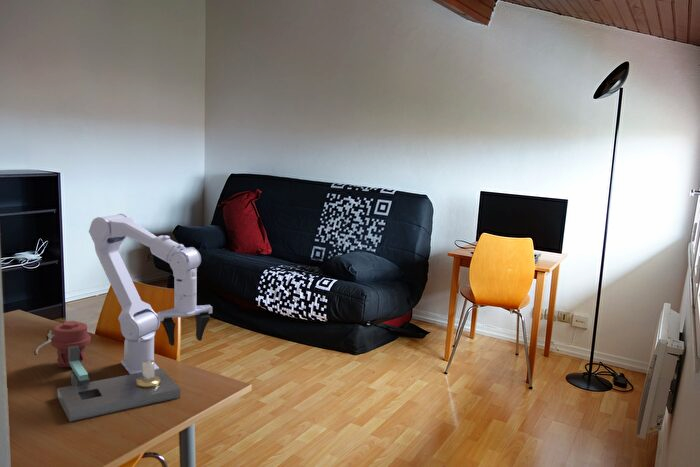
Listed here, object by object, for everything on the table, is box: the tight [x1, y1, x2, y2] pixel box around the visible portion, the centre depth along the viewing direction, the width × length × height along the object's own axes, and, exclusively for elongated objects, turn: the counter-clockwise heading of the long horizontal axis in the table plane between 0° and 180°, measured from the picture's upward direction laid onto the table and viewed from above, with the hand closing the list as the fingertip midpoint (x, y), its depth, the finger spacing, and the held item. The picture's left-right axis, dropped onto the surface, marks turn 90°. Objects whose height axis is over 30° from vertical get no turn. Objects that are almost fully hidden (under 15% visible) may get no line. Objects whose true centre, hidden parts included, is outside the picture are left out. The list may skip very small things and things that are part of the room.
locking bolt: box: [68, 345, 89, 381], centre depth 154 cm, size 12×2×5 cm, turn 36°
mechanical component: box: [50, 320, 92, 368], centre depth 165 cm, size 12×10×10 cm
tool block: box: [56, 368, 181, 423], centre depth 152 cm, size 21×26×3 cm
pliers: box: [34, 330, 54, 356], centre depth 181 cm, size 10×1×20 cm
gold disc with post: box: [136, 359, 160, 388], centre depth 152 cm, size 6×6×8 cm
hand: (185, 341), depth 161 cm, fingers open, 7 cm apart
